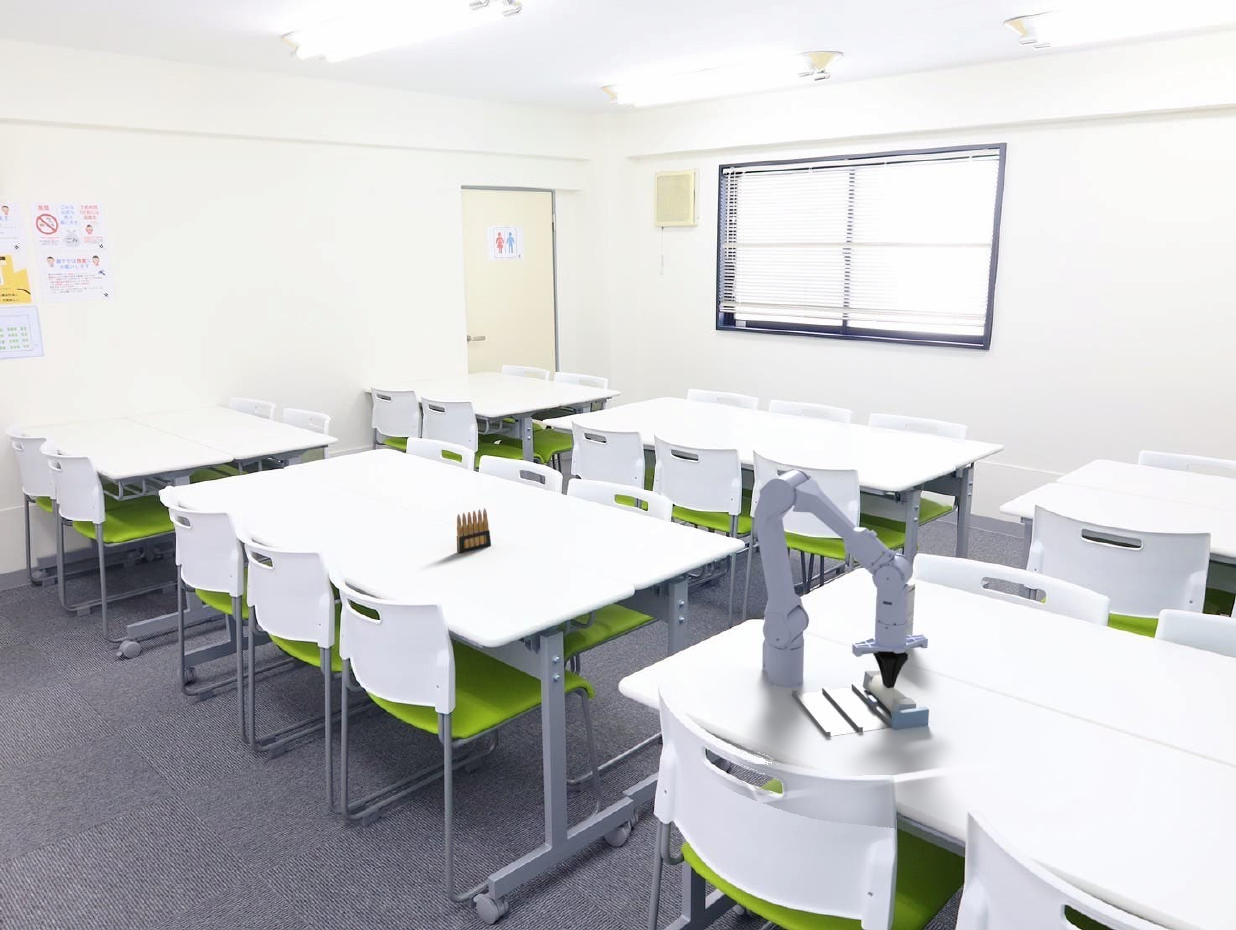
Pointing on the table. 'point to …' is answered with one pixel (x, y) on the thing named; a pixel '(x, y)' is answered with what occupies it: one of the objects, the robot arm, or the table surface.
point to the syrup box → (910, 608)
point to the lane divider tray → (856, 711)
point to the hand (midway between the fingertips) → (888, 685)
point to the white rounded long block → (886, 693)
